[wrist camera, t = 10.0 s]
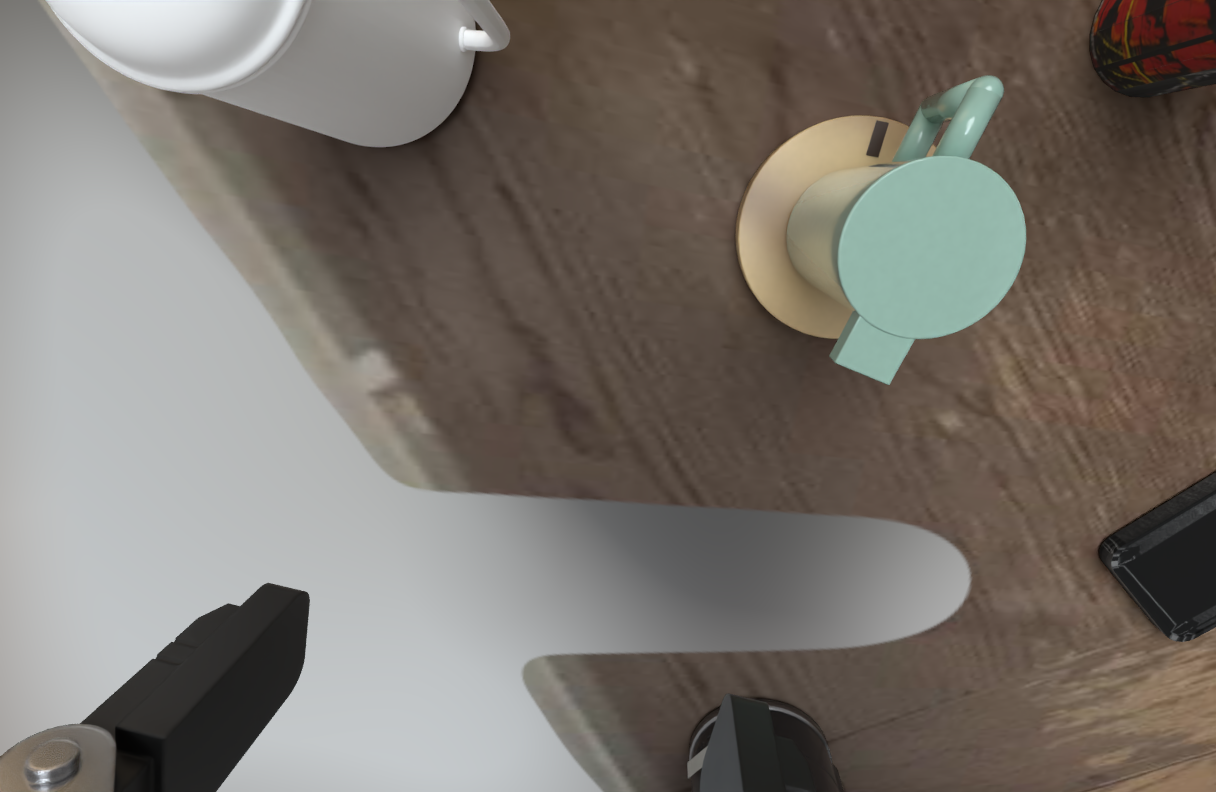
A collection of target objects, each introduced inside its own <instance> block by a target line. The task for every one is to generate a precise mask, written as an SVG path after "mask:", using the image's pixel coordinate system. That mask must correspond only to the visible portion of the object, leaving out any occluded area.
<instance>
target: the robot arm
mask: <svg viewBox="0 0 1216 792" xmlns="http://www.w3.org/2000/svg"><path fill="white" fill-rule="evenodd" d="M309 603H310V599H309V594H308V593H307V592H305V591H301V590H296V589H292V588H288V587H283V586H280V585H275V584H271V583H267V584H264V585H263V586H262V587H260V588H259V589H258V590H257V591H256V592H255V593H254V594H253V595H252V596H251V597H250V598H249V599H247V600H246V601H245V602H244V603H243V604H242V605H241V606H236V605H232V604H226V605H224V606H222V607H220V608H218V609H216V610H214V611H212V612H210V613H208V614H205V615H203V616H201V617H199V618H198V619H197V620H195V621H194V622H193V623H192V624H191V625H190V626H189V627H188V628H186V629H185V630H184V631H183V632H182V633H181V634H180V635H179V636H177V637H176V640H175V642H171V643H170V644H169V645H167V646H166V647H165V648H164V649H163V650H162V651H161V652H160V653H159V654H158V655H157V657H156V659H152V660H151V661H150V662H148V663H147V664H146V665H145V666H144V667H143V668H142V669H141V670H139V672H137V673H136V674H135V675H134V676H133V677H132V678H131V679H129V680H128V681H127V682H126V683H125V684H124V685H123V686H122V687H121V688H119V689H118V690H117V691H116V692H115V693H114V694H113V695H112V696H110V697H109V698H108V699H107V700H106V701H105V702H104V703H103V704H101V705H100V706H99V707H98V708H97V709H96V710H95V711H94V712H93V713H92V714H90V715H89V716H88V717H87V718H86V719H85V720H84V721H82V722H81V723H80V724H69V725H63V726H58V727H54V728H51V729H47V730H45V731H42V732H39V733H36V734H34V735H32V736H30V737H28V738H26V739H25V740H22V741H21V742H20V743H17V744H16V745H15V746H13V747H12V748H10V749H9V750H7V751H6V752H5V753H4V754H3V755H2V756H0V792H216V791H217V790H218V788H219V787H220V786H221V784H222V783H223V782H224V781H225V779H226V778H227V777H228V775H229V774H230V772H231V771H232V770H233V769H234V767H235V766H236V765H237V763H238V762H239V761H240V759H241V758H242V757H243V756H244V754H245V753H246V752H247V750H248V749H249V748H250V746H251V745H252V744H253V742H254V741H255V740H256V738H257V737H258V736H259V734H260V733H261V732H262V730H263V729H264V728H265V726H266V725H267V724H268V723H269V721H270V720H271V719H272V717H273V716H274V715H275V713H276V712H277V711H278V709H279V708H280V707H281V706H282V704H283V703H284V702H285V700H286V699H287V698H288V696H289V695H290V693H291V692H292V690H293V689H294V687H295V685H296V683H297V681H298V679H299V676H300V674H301V671H302V668H303V664H304V659H305V648H306V638H307V626H308V615H309ZM687 768H688V778H689V777H691V784H692V792H844V791H843V787H842V784H841V780H840V777H839V773H838V770H837V768H836V767H835V766H833V765H832V760H831V754H830V750H829V747H828V743H827V740H826V738H825V735H824V734H823V732H822V730H821V729H820V727H819V726H818V725H817V724H816V722H815V721H814V720H813V719H811V718H810V717H809V716H808V715H807V714H805V713H804V712H802V711H801V710H799V709H797V708H795V707H793V706H791V705H788V704H785V703H782V702H778V701H774V700H768V699H749V698H745V697H741V696H737V695H733V694H726V695H725V697H724V699H723V701H722V704H721V707H720V708H718V709H716V710H714V711H713V712H711V713H710V714H709V715H708V716H706V717H705V718H704V719H703V720H702V721H701V722H700V724H699V725H698V726H697V728H696V729H695V731H694V733H693V735H692V738H691V741H690V746H689V762H687Z"/></svg>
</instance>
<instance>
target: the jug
mask: <svg viewBox="0 0 1216 792" xmlns="http://www.w3.org/2000/svg"><path fill="white" fill-rule="evenodd" d="M1003 94H1004V86H1003V83H1002V82H1001V80H1000V79H999V78H997V77H995V76H991V75H987V76H982V77H979V78H977V79H974V80H971V81H969V82H966V83H963V84H961V85H958V86H955V87H953V88H950V89H947V90H945V91H942V92H939V93H937V94H934V95H932V96H929V97H927V98H926V99H925V100H924V101H923V102H922V103H921V105H920V106H919V108H918V110H917V112H916V114H915V116H914V118H913V120H912V122H911V124H910V126H909V128H908V130H907V132H906V134H905V136H904V138H903V140H902V142H901V144H900V146H899V148H898V150H897V152H896V154H895V156H894V158H893V160H892V162H887V163H881V164H874V165H867V166H860V167H853V168H846V169H842V170H838V171H835V172H832V173H829V174H827V175H825V176H823V177H822V178H820V179H819V180H817V181H816V182H814V183H813V184H812V185H811V186H810V187H809V188H808V189H807V190H806V191H805V192H804V193H803V194H802V195H801V197H800V198H799V200H798V201H797V203H796V204H795V206H794V208H793V210H792V213H791V215H790V218H789V222H788V226H787V249H788V253H789V256H790V259H791V261H792V264H793V266H794V267H795V269H796V271H797V272H798V273H799V274H800V276H801V277H802V278H803V279H804V280H805V281H807V282H808V283H809V284H811V285H812V286H813V287H815V288H816V289H818V290H819V291H821V292H823V293H824V294H826V295H827V296H829V297H830V298H832V299H833V300H835V301H836V302H838V303H839V304H841V305H842V306H844V307H845V308H847V309H848V310H850V311H851V312H852V314H851V316H850V318H849V320H848V321H847V323H846V325H845V327H844V329H843V331H842V333H841V335H840V337H839V339H838V340H837V342H836V344H835V346H834V348H833V350H832V352H831V354H830V356H829V357H830V358H831V359H832V360H833V361H834V362H835V363H836V364H839V365H841V366H844V367H846V368H848V369H851V370H853V371H856V372H858V373H860V374H863V375H865V376H868V377H870V378H873V379H875V380H877V381H880V382H882V383H885V384H887V385H889V384H890V382H891V381H892V379H893V377H894V375H895V374H896V372H897V370H898V368H899V367H900V365H901V363H902V361H903V359H904V358H905V356H906V354H907V352H908V351H909V349H910V347H911V345H912V344H913V342H914V340H915V339H931V338H936V337H942V336H946V335H949V334H952V333H955V332H957V331H960V330H962V329H964V328H966V327H968V326H970V325H972V324H973V323H975V322H977V321H978V320H980V319H981V318H982V317H984V316H985V315H987V314H988V313H989V312H990V311H991V310H992V309H993V308H994V307H995V306H996V305H997V304H998V303H999V302H1000V301H1001V300H1002V298H1003V297H1004V296H1005V295H1006V293H1007V292H1008V290H1009V289H1010V287H1011V286H1012V284H1013V282H1014V280H1015V279H1016V277H1017V275H1018V272H1019V269H1020V267H1021V264H1022V261H1023V257H1024V252H1025V245H1026V225H1025V220H1024V214H1023V211H1022V208H1021V205H1020V203H1019V201H1018V199H1017V197H1016V195H1015V193H1014V192H1013V190H1012V189H1011V188H1010V186H1009V185H1008V183H1007V182H1006V181H1005V180H1004V179H1003V178H1002V177H1001V176H1000V175H999V174H997V173H996V172H994V171H993V170H992V169H990V168H989V167H987V166H985V165H983V164H981V163H979V162H976V161H973V160H970V159H969V158H970V156H971V155H972V153H973V151H974V149H975V147H976V145H977V143H978V142H979V140H980V138H981V136H982V134H983V132H984V131H985V129H986V127H987V125H988V123H989V121H990V120H991V118H992V116H993V114H994V112H995V110H996V109H997V107H998V105H999V103H1000V101H1001V99H1002V97H1003ZM948 121H950V123H949V125H948V127H947V129H946V131H945V133H944V135H943V136H942V138H941V140H940V142H939V144H938V146H937V148H936V150H935V152H934V154H933V156H929V157H926V155H927V153H928V152H929V150H930V148H931V146H932V144H933V142H934V140H935V138H936V136H937V134H938V132H939V131H940V129H941V127H942V125H943V123H944V122H948Z"/></svg>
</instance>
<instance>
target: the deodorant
mask: <svg viewBox="0 0 1216 792" xmlns="http://www.w3.org/2000/svg"><path fill="white" fill-rule="evenodd" d="M1090 54H1091V58H1092V61H1093V65H1094V68H1095V70H1096V71H1097V73H1098V74H1099V76H1100V78H1101V79H1102V81H1103V82H1104V83H1106V84H1107V85H1108V86H1110V87H1111V88H1112V89H1113V90H1115V91H1117V92H1119V93H1122V94H1125V95H1128V96H1131V97H1152V96H1157V95H1162V94H1167V93H1172V92H1177V91H1182V90H1187V89H1192V88H1197V87H1202V86H1207V85H1212V84H1216V0H1103V1H1102V3H1101V4H1100V6H1099V8H1098V10H1097V12H1096V14H1095V17H1094V21H1093V24H1092V28H1091V32H1090Z"/></svg>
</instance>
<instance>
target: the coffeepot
mask: <svg viewBox="0 0 1216 792" xmlns="http://www.w3.org/2000/svg"><path fill="white" fill-rule="evenodd" d="M46 2H47V3H48V4H49V5H50V7H51V9H52V10H53V11H54V13H55V14H56V16H57V17H58V18H59V20H60V21H61V22H62V23H63V25H64V26H65V27H66V28H67V29H68V31H69V32H70V33H71V34H72V35H73V36H74V37H75V38H76V39H77V40H78V41H79V42H80V43H81V44H82V45H83V46H84V47H85V48H86V49H87V50H88V51H89V52H91V53H92V54H93V55H94V56H96V57H97V58H98V59H99V60H101V61H102V62H104V63H105V64H106V65H108V66H109V67H111V68H113V69H114V70H116V71H118V72H119V73H121V74H123V75H125V76H127V77H129V78H131V79H133V80H135V81H137V82H140V83H142V84H145V85H148V86H151V87H155V88H158V89H162V90H168V91H173V92H178V93H187V94H203V95H206V96H209V97H212V98H215V99H218V100H221V101H224V102H227V103H230V104H233V105H236V106H239V107H242V108H245V109H248V110H251V111H254V112H257V113H260V114H263V115H267V116H270V117H273V118H276V119H279V120H282V121H285V122H288V123H291V124H294V125H297V126H300V127H303V128H306V129H309V130H312V131H315V132H318V133H321V134H324V135H328V136H331V137H334V138H337V139H340V140H343V141H346V142H349V143H352V144H356V145H361V146H368V147H391V146H397V145H402V144H406V143H409V142H412V141H414V140H417V139H419V138H421V137H423V136H425V135H426V134H428V133H429V132H431V131H432V130H434V129H435V128H436V127H437V126H439V125H440V124H441V123H442V122H443V121H444V120H445V119H446V118H447V117H448V116H449V115H450V113H451V112H452V111H453V110H454V108H455V107H456V105H457V104H458V102H459V100H460V99H461V97H462V95H463V93H464V91H465V89H466V86H467V84H468V81H469V78H470V75H471V72H472V68H473V63H474V57H475V51H499V50H502V49H504V48H506V46H507V45H508V44H509V41H510V32H509V29H508V28H507V26H506V24H505V22H504V21H503V19H502V18H501V16H500V15H499V14H498V12H497V11H496V9H495V8H494V6H493V5H492V4H491V2H490V1H489V0H46ZM475 21H476V22H477V23H478V24H479V25H480V27H481V28H482V29H483V30H484V31H478V30H476V27H475Z"/></svg>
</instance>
